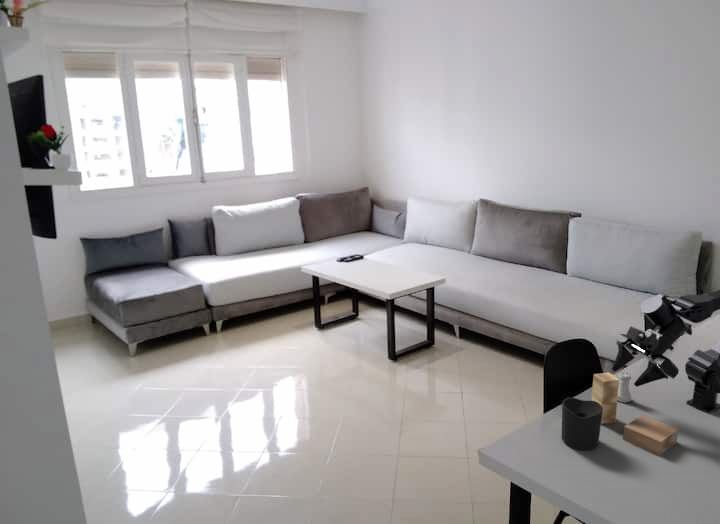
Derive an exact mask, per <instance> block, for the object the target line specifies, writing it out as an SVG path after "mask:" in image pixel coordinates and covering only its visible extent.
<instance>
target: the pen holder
mask: <svg viewBox="0 0 720 524" xmlns="http://www.w3.org/2000/svg"><path fill="white" fill-rule="evenodd" d="M602 412H603V408H602V406H601V405H600V404H599V403H598V402H596V401H591V400H583V399H579V398H576V397H574V396H573V397H566V398H565V399H563V401H562V403H561V441H563V442H564V444H565V445H567V446H568V447H570V448H572V449H575V450H578V451H579V450H580V451H591V450H594V449H595V448H596V447H598V445H599V440H600V433H601V426H602V424H601V420H602Z"/></svg>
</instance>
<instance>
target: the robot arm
mask: <svg viewBox="0 0 720 524" xmlns="http://www.w3.org/2000/svg"><path fill="white" fill-rule="evenodd" d="M718 310H720V289H718V290H715V291H711V292H709V293H706V294H689V295H682V296H679V297H677V298H676V299H674V300H669V299H668V298H667V296H666V295H664V294H663V293H658V294H657V295H656V296H655V295H654V296H649V298H645V299H644V300H643V301H642V302H641V304H640V311H641V312H642V313H643V315H644V316H646V318H647V319H648V320H649V321H650V322H651V323H652V324H653V325H655V326H656V327H655V328H654V329H651V328H649V329H646V331H643V330H641V329H639V328H637V327H635V326H631V325H630V327H629V329H628V330H627V331H626V334H625V333H619V335H618V336H617V337H616V338H615V341H616V346H617V347H618V351H617V353H616V354H617V355H616V357H615V360H614V362H613V365H612V367H611V370H612V371H613V372H616V371H619V369H621V368H623V367H624V366H625V365H627V364H629V363H630V362H631V361H633V360H634V359H636V358H635V356H637V355H639V356H641V357H643V358H645V359H647V360H648V362H647V367H646V369H645V370H644V371H643V372H642V373H641V375H639V377H638V378H637V379H636V380H635V382H634V383H633V385H634V386H635V387H636V388H637V387H641V386H643V385H646V384H649V383H652V382H655V381H659V380H662V379H666V380H668V379H669V378H671V379H672V380H674V379H675V378H676V377H677V376H678V375H679V371H680V369H679V368H678V367H677V365H676V364H675V363H674V362H673V361H672V360H671V359H670V358H669V357H667V356H665V353H666V352H667V351H668V350H670V351H674V349H675V348H674V346H673V345H674V343H675V342H677V340H679V338H680V337H681V336H682V335H683V334H686V335H689V336H692V334H693V329H692V326H693V325H692V324H690V323H689V322H691V323H694V324H699V323H701V322H703V321H706V320H707V319H709V318H711V317H712V315H713V314H714V312H717V311H718ZM683 319H684V320H687V321H689V322H686V321H684V320H683ZM684 367H685V369H684V370H685V374H686V375H687V379H688V381H691V382H693V383H694V384H693V385H694V387H693V394H692V398H691V399H689V400H686V404H687V405H690V406H692V407H694V408H697V409H699V410H702V411H704V412H706V413H712V412H714V411H716V410H718V409H720V403H719V402H718V396H719V395H718V394H720V339H719V340H718V341H717V342H716V343H715V344H714V345H713V346H712V347H711V348H710V349H708V350H705V351H703V350H701V349H696V351H695V352H694V353H693V354H692V355H691V356H690V357H688V358H687V362H686V363H685V366H684Z"/></svg>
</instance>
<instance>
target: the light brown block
mask: <svg viewBox="0 0 720 524" xmlns="http://www.w3.org/2000/svg"><path fill="white" fill-rule="evenodd" d="M678 433H679V428H676V427H673V426H671V425H669V424H666V423H664V422H661V421H659V420H656V419H654V418H651V417H649V416H646V415H643V414H642V415H640V416H638V417H637V418H635V419H634V420H632V421H630V422H629V423H627V424H625V425H624V426H623V435H622V436H623V437H622V440H624V441H626V442H628V443H631V444H632V445H635V446H637V447H639V448H641V449H643V450H646V451H648V452H651V453H653V454H655V455H657V456H661V455H662V454H663V453H664V452H667V450H668V449H670V448H671V447H672V446H674V445H675V444H677V442H678V435H679V434H678Z"/></svg>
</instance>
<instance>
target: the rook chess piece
mask: <svg viewBox="0 0 720 524" xmlns="http://www.w3.org/2000/svg"><path fill="white" fill-rule="evenodd" d="M618 379H619V388H618V399H617V400H618V401H617V402H619V401H620V402H619V403H623V402H624V404H626V402H628V403H630V402H631V401H632V394H631V392H630V387H629V386H630V384H631V383H630V380H631V379H632V377H631V374H630V373H628V372H620V373H619V375H618Z"/></svg>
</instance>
